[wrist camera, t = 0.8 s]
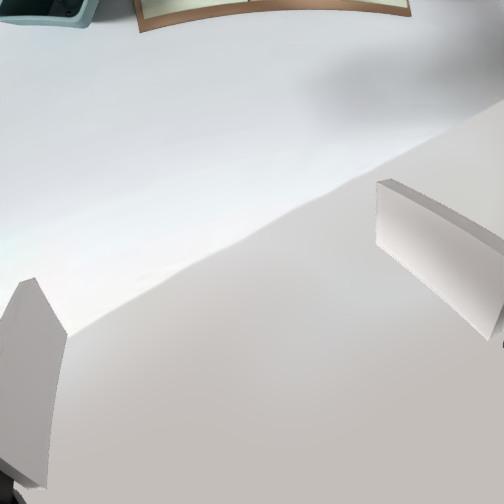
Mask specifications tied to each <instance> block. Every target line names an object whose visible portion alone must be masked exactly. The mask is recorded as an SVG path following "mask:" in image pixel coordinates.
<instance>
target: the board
mask: <svg viewBox="0 0 504 504" xmlns="http://www.w3.org/2000/svg"><path fill="white" fill-rule="evenodd" d="M134 5H135V10H136V16H137V21H138V26H139V31H140V33H142V32H146V31H149V30H153V29H157V28H161V27H166V26H170V25H175V24H179V23H184V22H189V21H194V20H200V19H206V18H212V17H218V16H225V15H233V14H242V13H251V12H263V11H278V10H348V11H363V12H374V13H384V14H392V15H399V16H406V17H411V12H410V7H409V2H408V0H134Z"/></svg>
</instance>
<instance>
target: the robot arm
mask: <svg viewBox="0 0 504 504" xmlns="http://www.w3.org/2000/svg"><path fill="white" fill-rule="evenodd" d="M376 192H377V194H376V196H377V197H376V244H377V245H378V246H379V247H380V248H382V249H383V250H384V251H386V252H387V253H388V254H389V255H391V256H392V257H393V258H394V259H395V260H397V261H398V262H399V263H400V264H402V265H403V266H404V267H405V268H407V269H408V270H409V271H410V272H411V273H413V274H414V275H415V276H416V277H417V278H418V279H420V280H421V281H422V282H423V283H424V284H425V285H427V286H428V287H429V288H430V289H431V290H433V291H434V292H435V293H436V294H437V295H438V296H440V297H441V298H442V299H443V300H444V301H445V302H446V303H447V304H449V305H450V306H451V307H452V308H453V309H454V310H455V311H456V312H457V313H459V314H460V315H461V316H462V317H463V318H464V319H465V320H466V321H468V323H470V324H471V325H472V326H473V327H474V328H475V329H476V330H477V331H478V332H479V333H480V334H481V335H482V336H483V337H484V338H486V339H487V340H488V341H489V340H490V339H492V338H493V337H494V336H495V335H497V334H498V333H499V332H501V331H502V329H503V326H504V240H502V239H501V238H500V237H498V236H497V235H495V234H493V233H492V232H490V231H489V230H487V229H485V228H483V227H482V226H480V225H478V224H477V223H475V222H473V221H471V220H470V219H468V218H466V217H464V216H463V215H461V214H459V213H457V212H455V211H454V210H452V209H450V208H448V207H446V206H444V205H443V204H441V203H439V202H437V201H435V200H433V199H431V198H429V197H427V196H425V195H423V194H422V193H420V192H418V191H415V190H414V189H411V188H409V187H407V186H405V185H403V184H401V183H399V182H397V181H395V180H393V179H388V180H383V181H379V182H377V183H376ZM67 335H68V334H67V333H66V331H65V330H64V328H63V326H62V325H61V323H60V321H59V320H58V318H57V316H56V315H55V313H54V311H53V310H52V308H51V306H50V304H49V303H48V301H47V299H46V297H45V295H44V294H43V292H42V290H41V288H40V286H39V284H38V282H37V281H36V279H35V278H32V279H29V280H26V281H23V282H20V283H19V284H18V286H17V288H16V290H15V292H14V294H13V296H12V298H11V299H10V301H9V303H8V305H7V307H6V309H5V311H4V313H3V316H2V318H1V320H0V504H26V502H25V501H24V499H23V497H22V496H21V495H20V494H19V492H18V491H17V490H15V489H14V488H13V484H14V481H16V482H17V483H19V484H20V485H22V486H23V487H25V488H27V489H37V490H47V474H48V457H49V444H50V434H51V425H52V417H53V410H54V403H55V396H56V390H57V384H58V379H59V373H60V367H61V363H62V358H63V353H64V348H65V343H66V339H67ZM503 348H504V342H503Z"/></svg>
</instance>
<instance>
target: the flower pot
mask: <svg viewBox="0 0 504 504" xmlns="http://www.w3.org/2000/svg"><path fill="white" fill-rule="evenodd" d="M98 3H99V0H62V1H61V2H59V0H0V22H5V23H10V24H16V25H43V26H62V27H73V28H87V27H88V26H89V25H90V23H91V21H92V18H93V15H94V13H95V10H96V7H97V5H98ZM67 12H71V14H70V15H69V16H67V15H66V13H67Z"/></svg>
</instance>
